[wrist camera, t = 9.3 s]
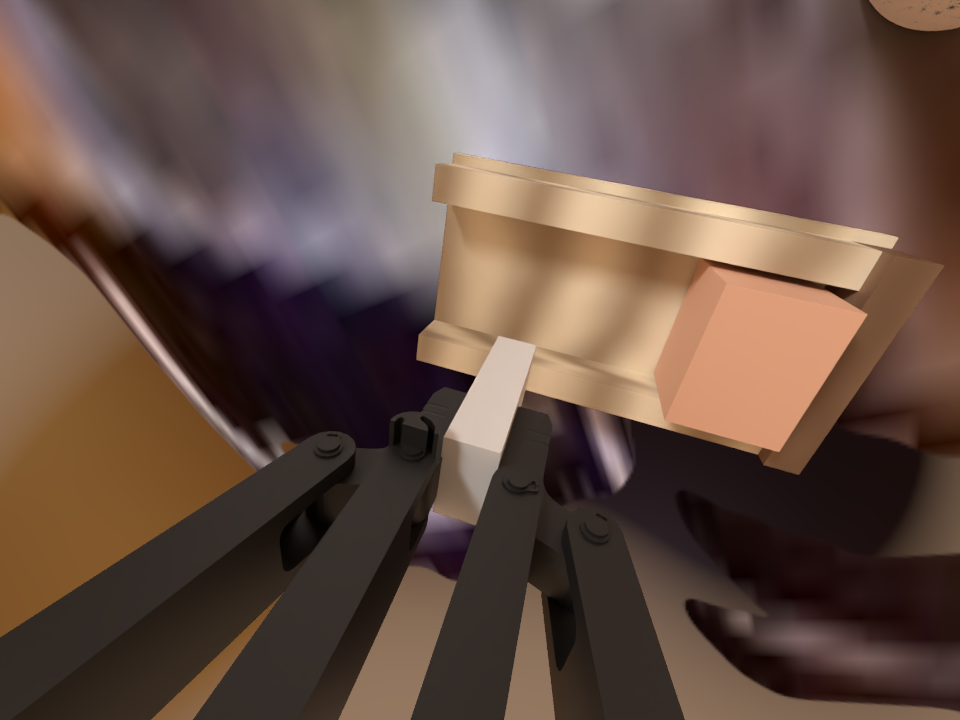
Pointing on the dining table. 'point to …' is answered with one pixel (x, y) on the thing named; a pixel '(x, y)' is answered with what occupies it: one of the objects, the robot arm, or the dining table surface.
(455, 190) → the chute
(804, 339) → the block
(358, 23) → the dining table surface
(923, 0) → the teacup with lid
